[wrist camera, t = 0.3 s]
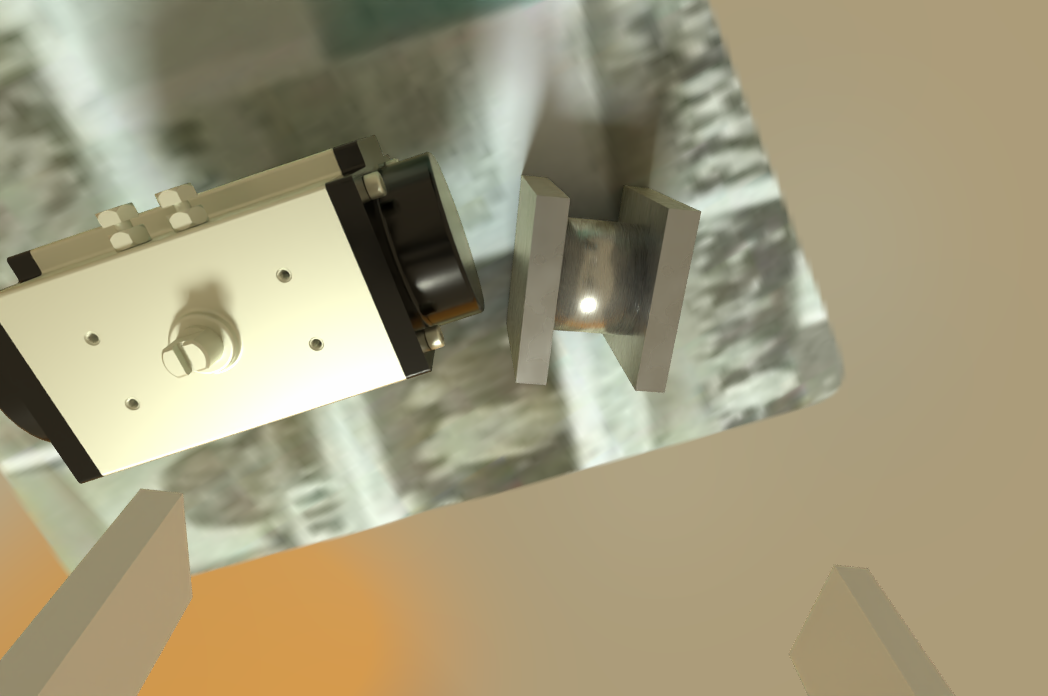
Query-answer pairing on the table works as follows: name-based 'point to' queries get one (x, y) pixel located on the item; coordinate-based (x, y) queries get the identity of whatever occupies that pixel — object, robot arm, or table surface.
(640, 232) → the flanged fitting
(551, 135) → the table surface
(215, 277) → the ball valve
